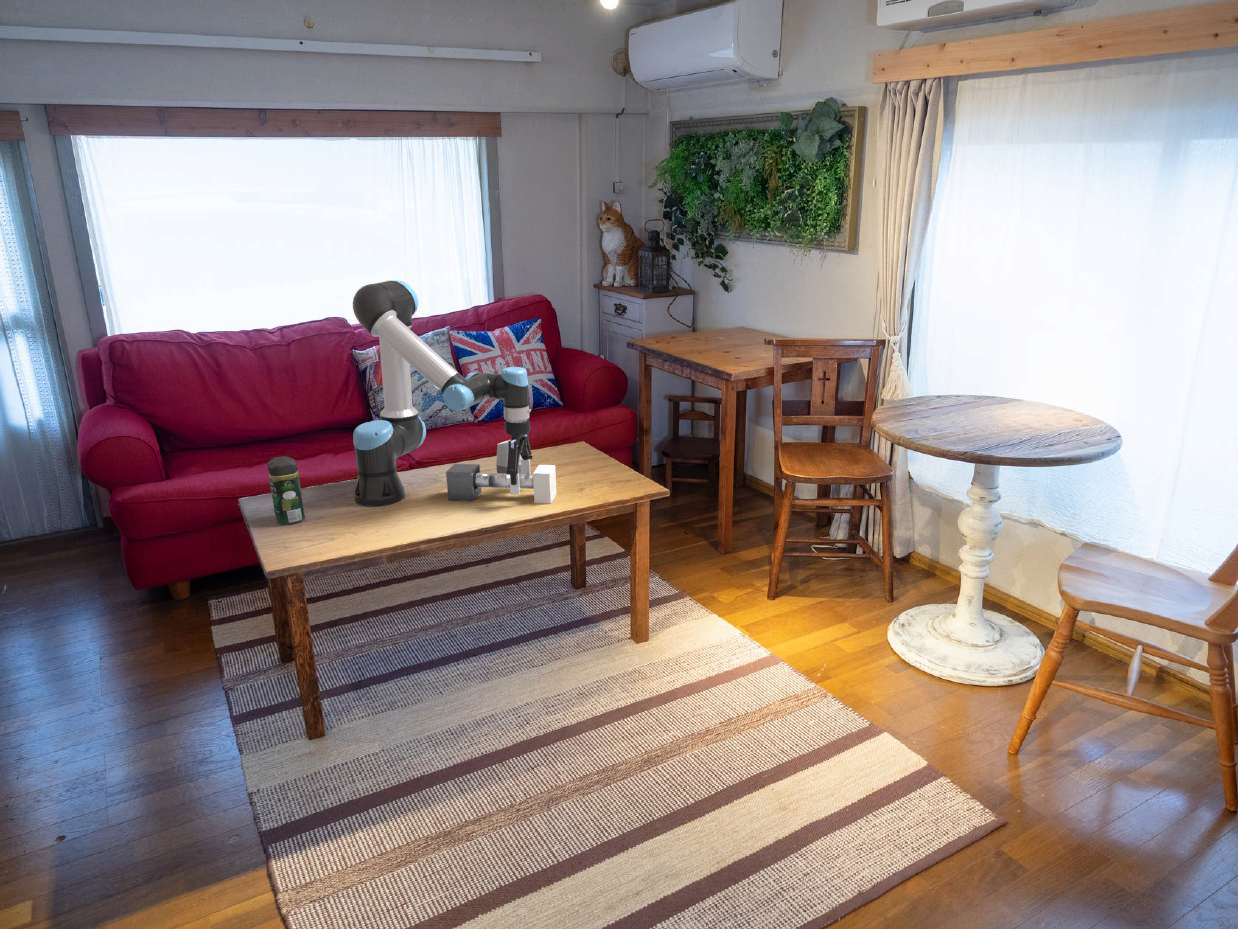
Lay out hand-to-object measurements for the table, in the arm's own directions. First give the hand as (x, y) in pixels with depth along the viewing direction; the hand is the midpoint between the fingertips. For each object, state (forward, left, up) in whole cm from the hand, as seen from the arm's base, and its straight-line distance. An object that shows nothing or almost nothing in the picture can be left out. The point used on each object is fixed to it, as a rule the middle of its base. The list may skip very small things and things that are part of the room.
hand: (520, 487), depth 262 cm
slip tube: (-4, 0, 0) cm, 5 cm away
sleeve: (-18, 0, -4) cm, 18 cm away
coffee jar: (-63, -24, -4) cm, 67 cm away
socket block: (+8, 0, -4) cm, 8 cm away
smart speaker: (-8, +18, -4) cm, 20 cm away
